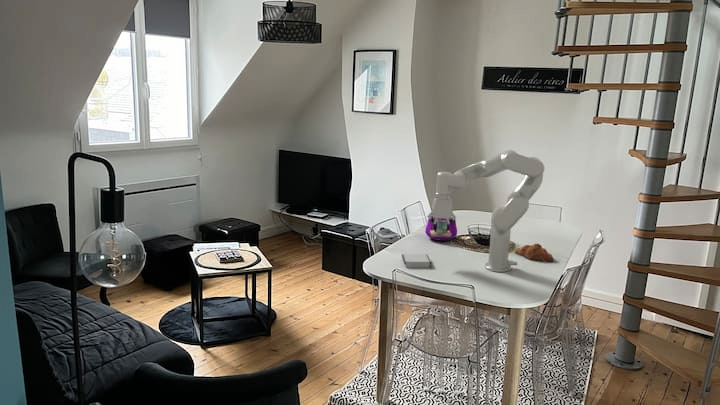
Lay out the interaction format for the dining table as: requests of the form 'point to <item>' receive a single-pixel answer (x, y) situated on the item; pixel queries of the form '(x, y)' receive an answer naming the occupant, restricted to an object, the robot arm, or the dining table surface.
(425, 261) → the dock
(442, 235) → the pallet
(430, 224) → the decorative plant
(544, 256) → the pastry
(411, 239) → the dining table surface
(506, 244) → the robot arm
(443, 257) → the dining table surface
